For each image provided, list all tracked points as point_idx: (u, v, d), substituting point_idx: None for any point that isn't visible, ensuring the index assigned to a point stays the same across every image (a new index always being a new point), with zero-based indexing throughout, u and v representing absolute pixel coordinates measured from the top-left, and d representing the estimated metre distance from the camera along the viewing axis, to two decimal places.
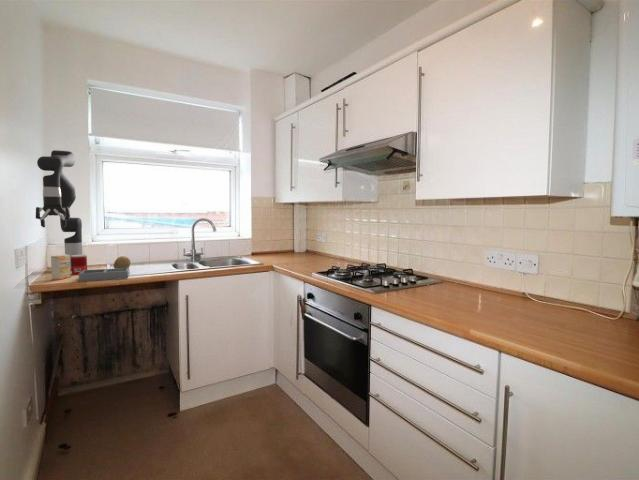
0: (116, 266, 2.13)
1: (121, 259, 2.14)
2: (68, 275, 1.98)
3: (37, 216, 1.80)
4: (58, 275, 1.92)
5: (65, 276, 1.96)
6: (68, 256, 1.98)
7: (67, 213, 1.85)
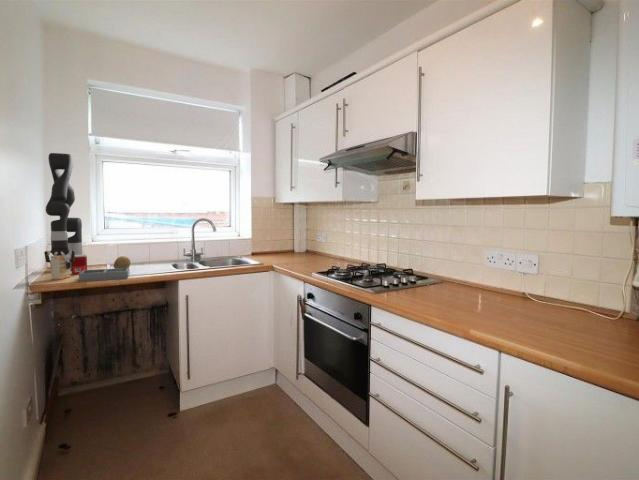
0: (116, 266, 2.13)
1: (121, 259, 2.14)
2: (68, 275, 1.98)
3: (47, 260, 1.92)
4: (58, 275, 1.92)
5: (65, 276, 1.96)
6: (68, 256, 1.98)
7: (72, 256, 1.96)
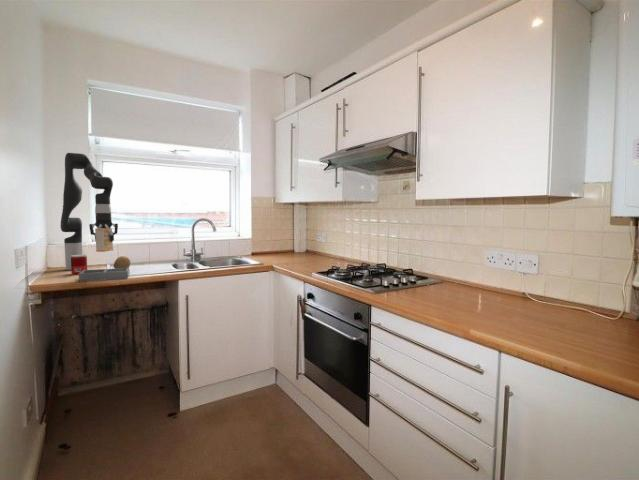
0: (116, 266, 2.13)
1: (121, 259, 2.14)
2: (111, 248, 2.01)
3: (92, 232, 1.95)
4: (102, 247, 1.95)
5: (108, 249, 1.98)
6: (111, 229, 2.01)
7: (116, 229, 1.99)
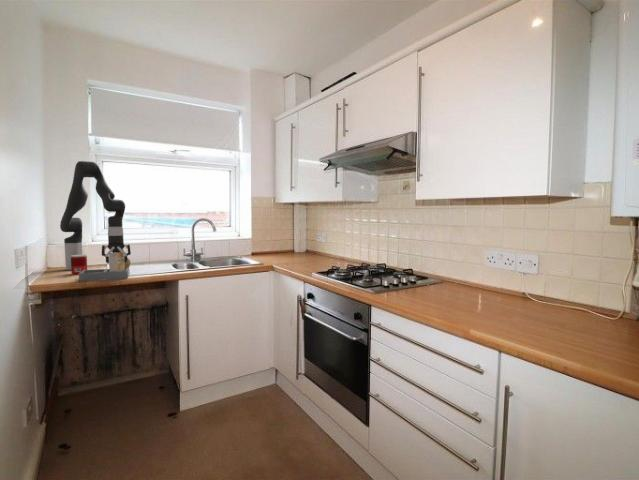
0: None
1: None
2: None
3: (103, 253, 1.97)
4: None
5: None
6: None
7: (128, 250, 2.02)
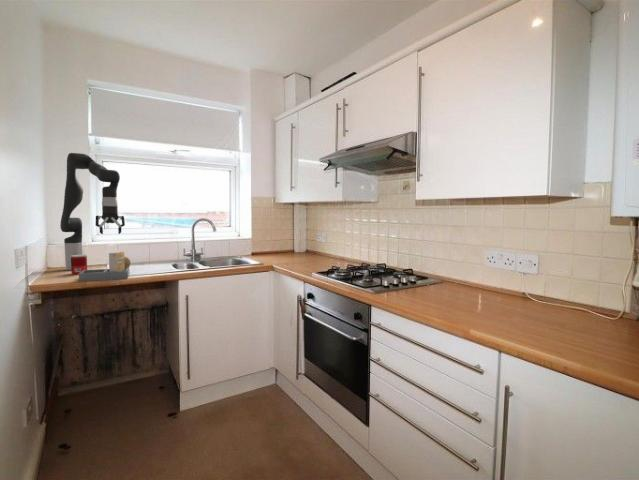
0: None
1: None
2: None
3: (97, 224, 1.96)
4: None
5: None
6: (123, 253, 2.04)
7: (123, 221, 2.02)
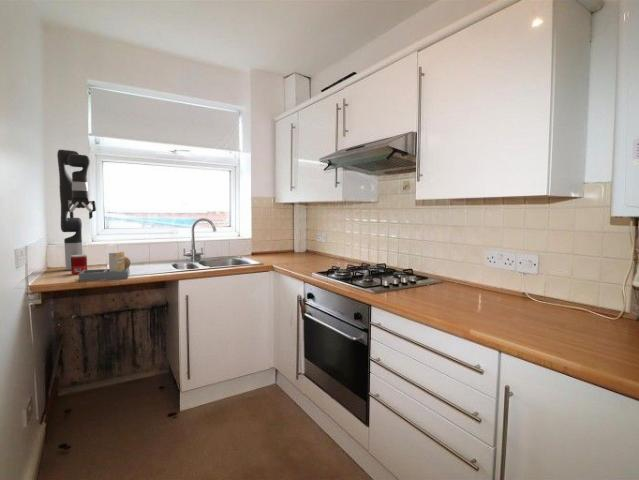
0: None
1: None
2: None
3: (67, 208, 1.97)
4: None
5: None
6: (123, 253, 2.04)
7: (93, 206, 2.02)
